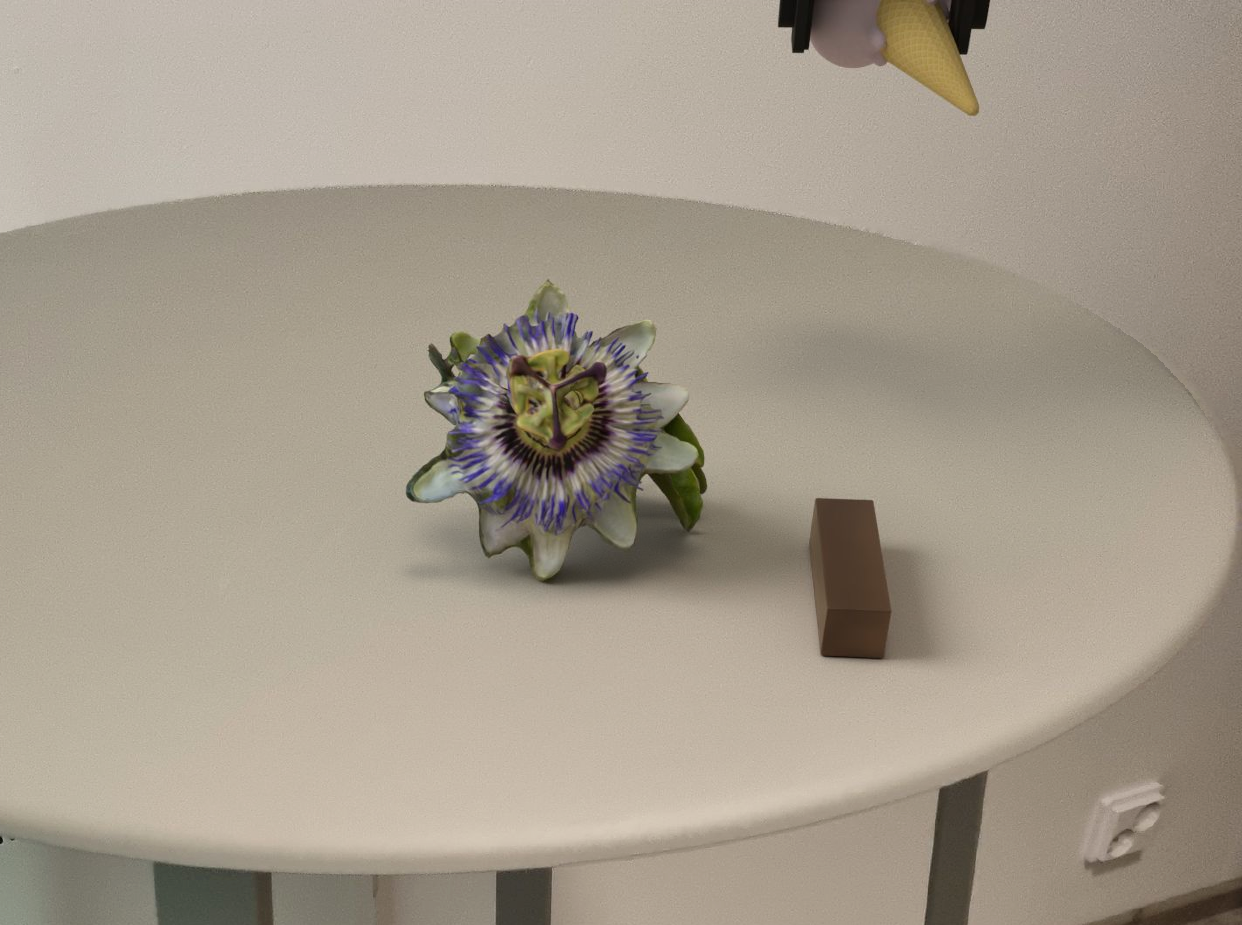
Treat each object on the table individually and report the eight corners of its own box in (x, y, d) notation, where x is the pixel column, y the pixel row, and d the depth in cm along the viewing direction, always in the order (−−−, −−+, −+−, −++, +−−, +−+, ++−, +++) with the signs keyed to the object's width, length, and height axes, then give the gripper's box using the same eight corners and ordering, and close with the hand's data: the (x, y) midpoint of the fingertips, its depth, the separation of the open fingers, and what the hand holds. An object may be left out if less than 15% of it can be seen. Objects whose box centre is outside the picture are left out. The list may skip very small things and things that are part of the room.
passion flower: (543, 690, 82) (388, 504, 74) (499, 539, 89) (352, 352, 80) (776, 547, 78) (640, 333, 69) (711, 400, 85) (580, 187, 76)
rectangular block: (866, 545, 80) (873, 499, 79) (883, 659, 73) (891, 610, 71) (809, 542, 80) (815, 497, 79) (820, 656, 73) (827, 608, 72)
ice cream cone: (1041, 11, 78) (906, -143, 86) (877, 100, 79) (760, -59, 88) (1059, 135, 82) (929, -22, 91) (903, 217, 84) (790, 55, 92)
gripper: (718, -466, 72) (681, 65, 83) (1194, -476, 70) (1087, 70, 82) (719, -473, 77) (685, 26, 89) (1160, -482, 75) (1065, 29, 87)
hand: (878, 43), depth 85 cm, fingers closed on ice cream cone, 6 cm apart
